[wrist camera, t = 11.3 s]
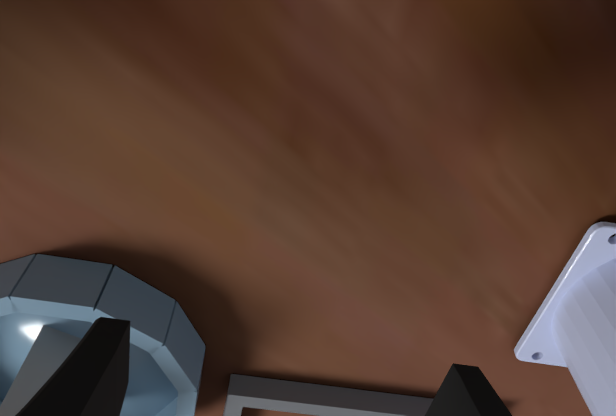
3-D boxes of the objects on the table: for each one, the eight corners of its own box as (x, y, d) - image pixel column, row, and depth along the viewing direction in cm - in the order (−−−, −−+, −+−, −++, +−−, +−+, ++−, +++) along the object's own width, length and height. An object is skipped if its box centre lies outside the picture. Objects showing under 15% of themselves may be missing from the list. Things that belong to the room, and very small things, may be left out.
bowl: (215, 279, 23) (207, 322, 21) (192, 436, 29) (184, 481, 27) (-75, 237, 22) (-115, 279, 19) (-33, 412, 28) (-60, 457, 26)
